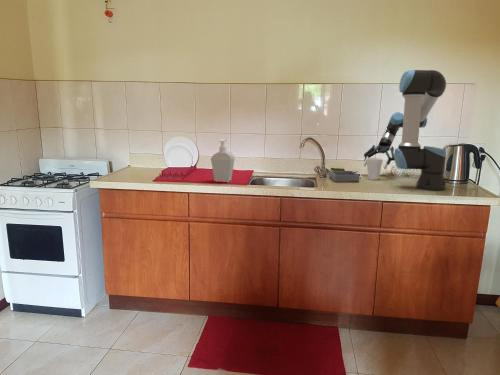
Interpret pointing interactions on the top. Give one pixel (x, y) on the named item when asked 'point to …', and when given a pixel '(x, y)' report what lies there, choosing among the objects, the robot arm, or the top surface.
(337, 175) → the tray
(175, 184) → the top surface
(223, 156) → the soap bottle
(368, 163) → the foam cup
